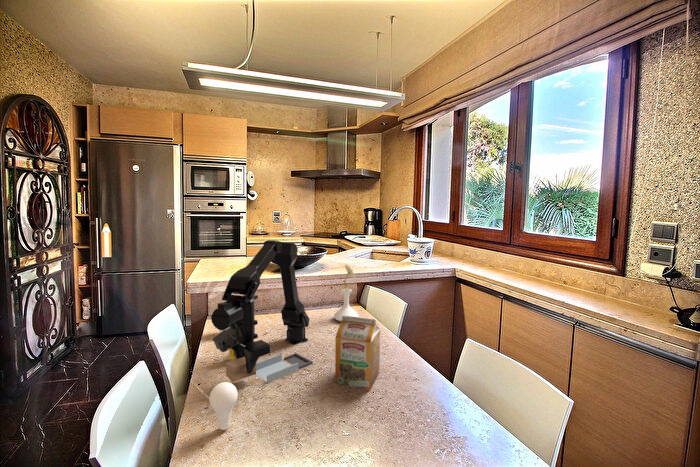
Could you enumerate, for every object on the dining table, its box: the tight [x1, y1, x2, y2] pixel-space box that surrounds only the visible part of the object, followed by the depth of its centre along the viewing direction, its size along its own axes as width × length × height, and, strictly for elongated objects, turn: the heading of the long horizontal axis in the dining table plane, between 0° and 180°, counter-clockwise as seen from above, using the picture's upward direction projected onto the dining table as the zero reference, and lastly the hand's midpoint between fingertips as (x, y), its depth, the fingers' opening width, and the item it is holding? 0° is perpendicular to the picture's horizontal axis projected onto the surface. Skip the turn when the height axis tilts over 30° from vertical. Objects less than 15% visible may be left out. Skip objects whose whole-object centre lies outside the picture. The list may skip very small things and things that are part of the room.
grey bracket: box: [254, 353, 299, 384], centre depth 106 cm, size 11×10×2 cm
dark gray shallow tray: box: [283, 352, 314, 370], centre depth 113 cm, size 5×9×1 cm, turn 46°
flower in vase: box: [333, 264, 360, 322], centre depth 154 cm, size 13×11×25 cm
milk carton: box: [334, 315, 381, 392], centre depth 102 cm, size 11×11×19 cm
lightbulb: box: [208, 381, 239, 431], centre depth 79 cm, size 6×6×11 cm
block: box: [225, 357, 256, 383], centre depth 98 cm, size 7×4×4 cm, turn 130°
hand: (245, 370), depth 99 cm, fingers closed on block, 5 cm apart
